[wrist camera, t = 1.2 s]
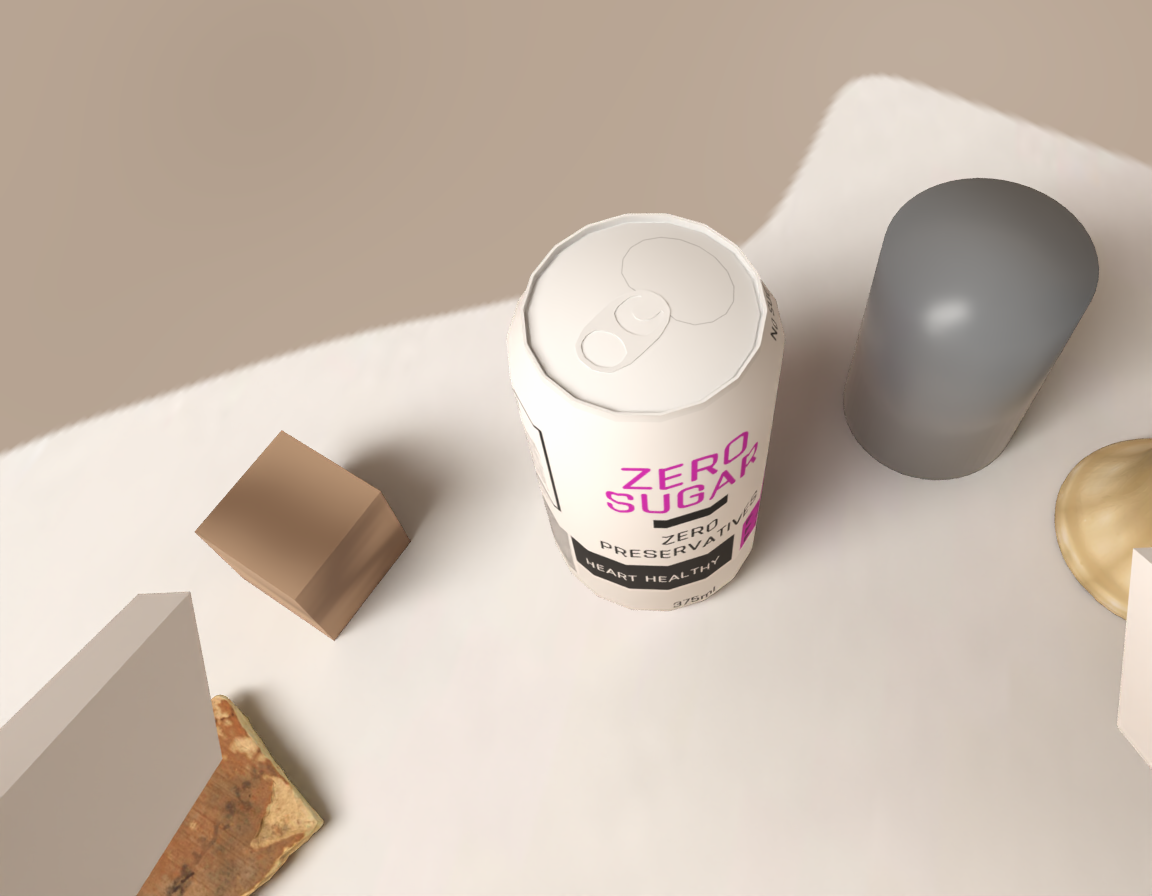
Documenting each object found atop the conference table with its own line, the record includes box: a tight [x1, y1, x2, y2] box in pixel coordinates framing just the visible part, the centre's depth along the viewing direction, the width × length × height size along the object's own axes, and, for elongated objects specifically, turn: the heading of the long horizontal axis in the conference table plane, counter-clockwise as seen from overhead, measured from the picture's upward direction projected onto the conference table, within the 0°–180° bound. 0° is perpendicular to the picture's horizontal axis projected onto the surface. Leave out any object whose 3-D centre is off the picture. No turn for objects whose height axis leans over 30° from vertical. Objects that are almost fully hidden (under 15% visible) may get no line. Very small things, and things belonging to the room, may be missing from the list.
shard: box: [136, 695, 324, 896], centre depth 39 cm, size 11×8×2 cm
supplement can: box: [506, 213, 785, 611], centre depth 37 cm, size 8×8×15 cm
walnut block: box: [195, 431, 411, 641], centre depth 42 cm, size 5×5×5 cm
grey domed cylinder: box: [843, 178, 1099, 480], centre depth 40 cm, size 7×7×10 cm
